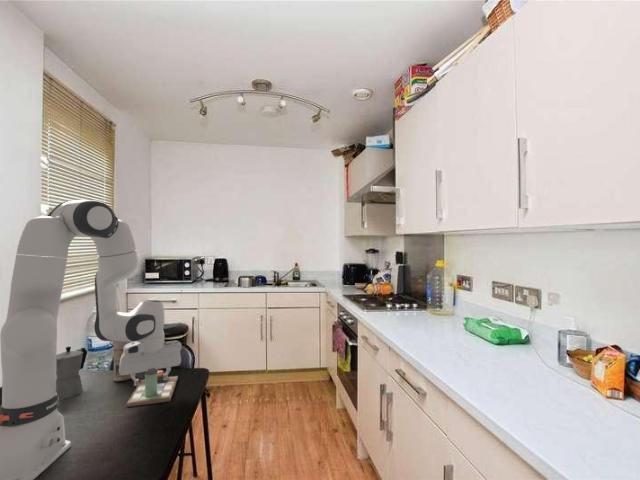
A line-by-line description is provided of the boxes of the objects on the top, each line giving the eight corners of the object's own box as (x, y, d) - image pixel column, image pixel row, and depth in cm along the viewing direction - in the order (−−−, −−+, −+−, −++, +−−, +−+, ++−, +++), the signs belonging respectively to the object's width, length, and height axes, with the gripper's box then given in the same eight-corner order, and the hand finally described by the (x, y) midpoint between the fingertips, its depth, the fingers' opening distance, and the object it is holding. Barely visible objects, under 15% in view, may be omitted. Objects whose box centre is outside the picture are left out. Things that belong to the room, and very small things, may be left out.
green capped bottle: (151, 398, 119) (151, 369, 120) (142, 396, 121) (142, 368, 121) (160, 393, 123) (160, 365, 124) (151, 391, 125) (151, 364, 125)
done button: (162, 377, 135) (162, 372, 135) (152, 379, 134) (152, 373, 134) (163, 374, 138) (163, 369, 138) (154, 375, 137) (154, 370, 137)
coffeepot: (64, 402, 120) (64, 352, 121) (40, 401, 121) (41, 351, 122) (97, 385, 135) (97, 340, 136) (75, 384, 136) (75, 340, 137)
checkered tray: (170, 401, 120) (170, 391, 120) (126, 406, 116) (126, 397, 116) (177, 378, 141) (177, 371, 141) (141, 383, 137) (141, 375, 137)
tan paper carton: (108, 381, 140) (108, 333, 140) (124, 374, 148) (124, 328, 148) (123, 383, 137) (124, 334, 138) (140, 375, 145) (140, 329, 146)
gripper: (180, 337, 131) (180, 373, 130) (119, 346, 120) (118, 385, 120) (182, 341, 125) (183, 378, 125) (119, 350, 115) (119, 391, 114)
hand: (151, 382), depth 122 cm, fingers open, 8 cm apart
